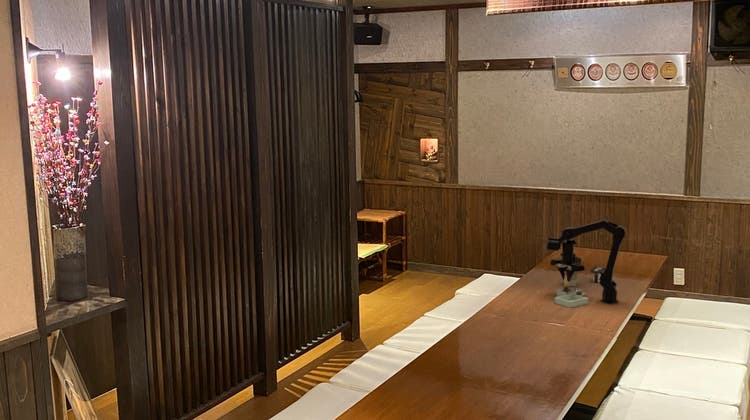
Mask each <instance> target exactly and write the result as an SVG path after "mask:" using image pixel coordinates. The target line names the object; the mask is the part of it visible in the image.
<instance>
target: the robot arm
mask: <svg viewBox="0 0 750 420" xmlns="http://www.w3.org/2000/svg"><path fill="white" fill-rule="evenodd" d="M602 229H604V230H606V231H607V232H609V233H610V234H612V245H611V247H610V248H611V249H610V252H609V255H608V259H607V263H606V267H605V268H606V269H605V271H604V270H602V272H601V276H600V278H599V280H600V282H599V284H600V286H601V288H602V295H601V299H600V302H604V303H608V304H610V305H611V304H614V303H619V300H618V297H617V296H618V290H617V286H618V284H617V283H616V282H615V280H614V269H615V265H616V262H617V258H618V254H619V253H620V247H621V244H622V243H623V241H624V238H625V236H626V235H627V232H628V231H627V228H626V227H625V226H624V225H622V224H621V225H620V224H617V223H614V222H612V221H609V220H608V219H605V218H604V219H602V220H599V221H595V222H591V223H587V224H584V225H579V226H568V227H565V229H564V230H562V232H561V236H559V237H552V236H549V237H548V239H547V245H546V247H547V248H546V249H547V250H548V251H553V252H554V251H557V252H559V251H560V250H561V249H562V250H561V253H560V254H559V255H560V256H561V258H553V259H551V260H550V265H551V266H552V267H553V266H554V267H555V266H556V265H557V266H556V269H557V270H558V272H559V274H560V275H561V278H562V280H563V281H564V274H565V273H564V270H566V274H567V280H568V282H570V280H571V277H572V275H573V273H574V272H575V271H576V272H578V273H579V272H583V271H585V264H581V262H582V258H580V257H578V256H577V255H576V253H575V251H574V250H575V246H574V245H578V243H579V241H577V240H576V237H579V236H580V235H582V234H586V233H591V232H593V231H597V230H598V231H599V230H602ZM576 263H578V264H576ZM573 264H574V265H573ZM569 265H570V266H569ZM568 267H569V269H567V268H568Z"/></svg>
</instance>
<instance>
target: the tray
mask: <svg viewBox="0 0 750 420" xmlns="http://www.w3.org/2000/svg"><path fill="white" fill-rule="evenodd" d="M554 304H557V305H559V306H562V307H566V308H568V309H571V308H576V307H581V306H586V305H588V304H589V298H588V297H586V296H580V295H576V294H568V295H564V296H559V297H557V296H556V297H554Z"/></svg>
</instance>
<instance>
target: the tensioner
mask: <svg viewBox="0 0 750 420" xmlns="http://www.w3.org/2000/svg"><path fill="white" fill-rule="evenodd" d="M568 294H576V295H580V296H583V297H586V296H587V295H588V294H587V293H586V292H583V290H582V289H581V288H578V287H575V288H571V289H570V288H569V290H564V287H563V288H559V289H556V297H559V296H564V295H568Z"/></svg>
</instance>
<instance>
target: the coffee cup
mask: <svg viewBox="0 0 750 420" xmlns="http://www.w3.org/2000/svg"><path fill="white" fill-rule="evenodd" d="M576 264H578V263H576ZM573 265H574V264H573ZM569 266H570V265H569ZM567 269H569V267H568V268H567ZM578 276H579V271H578V272H576V271H575V272H574V273H573V275H572V277H571V280H570V282H569V287H576V286H577V283H578V282H577V281H578Z"/></svg>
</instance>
